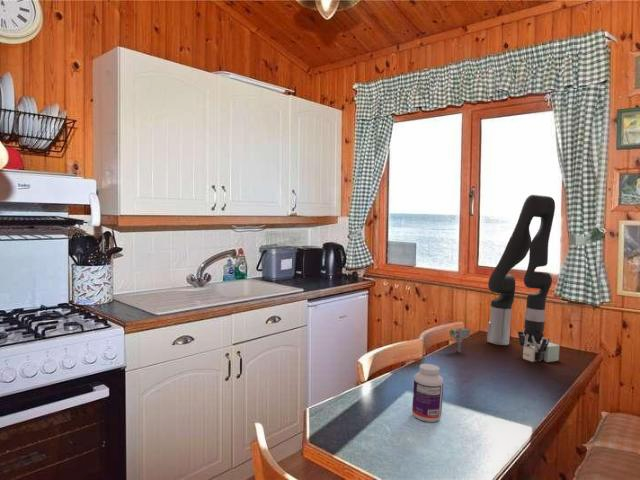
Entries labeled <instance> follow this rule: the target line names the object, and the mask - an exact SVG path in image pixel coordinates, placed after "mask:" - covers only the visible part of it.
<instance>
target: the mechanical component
mask: <svg viewBox="0 0 640 480" xmlns="http://www.w3.org/2000/svg"><path fill="white" fill-rule="evenodd" d="M470 333H471V329H469V328H466V327H460V328H459V327H458V328H456V330H455V329H451V330H449V337H450V338H452V339H454V340H455V342H456V343H457V344H456V352H458V353H461V349H462V343H463V339H468V338H469V337H470Z"/></svg>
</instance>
